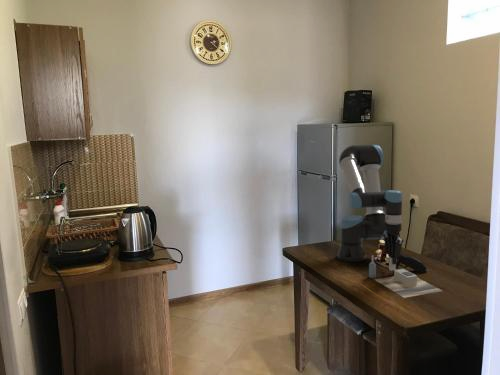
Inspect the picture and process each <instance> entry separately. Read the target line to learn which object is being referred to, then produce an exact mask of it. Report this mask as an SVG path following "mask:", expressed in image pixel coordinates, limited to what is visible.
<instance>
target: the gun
mask: <svg viewBox="0 0 500 375" xmlns="http://www.w3.org/2000/svg"><path fill="white" fill-rule="evenodd" d="M399 266H400V267H401V268H402V269H406V268H410V269H412V270H414V271H416V272H417V273H425V272H429V269H428V268H427V266H425V264H424V263H423V262H422V261H421V260H419V259H417V258H415V257H412V256H410V255H406V254H402V253H400V257H397V258H396V270H398V269H399Z"/></svg>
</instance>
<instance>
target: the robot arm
mask: <svg viewBox="0 0 500 375" xmlns="http://www.w3.org/2000/svg"><path fill="white" fill-rule="evenodd" d="M338 160H339V161H338V162H339V167H340V168H341V170H343V173H344V175H345V179H346V182H347V184H348V188H349V191H350V193H349V194H348V204H349V207H351V208H353V209H354V208H355V209H362V208H363V209H365V208H366V213H365V214H364V217H363V216H362V215H360V214H359V215H357V214H353V215H347V216H344V217H343V218H341V220H340V245H339V248H338V252H337V258H338V259H339V260H340V261H343V262H348V263H360V262H363V261H365V260H366V252H365V249H364V245H363V240H384V241H383V242H384V246H385V253H386V255H388V262H389V263H388V270H389V271H394V270H396V262H397V257H400V254H401V252H402V247H403V246H402V245H403V243H404V239H402V238H401V235H400V234H401V233H400V232H401V231H402V222H403V221H402V220H403V219H402V218H403V216H402V213H403V211H402V209H403V193H402V191H400V190H395V189H389V190H381V183H380V182H381V180H380V174H379V169H380V168H381V167H382V165H383V163H384V153H383V150H382V148H381V146H379V145H378V144H362V145H361V144H360V145H358V144H357V145H355V144H354V145H353V144H352V145H350V146H347V147H346V148H345V149H344V150H342V152H341V153H340V156H339V159H338ZM358 166H359V167H358ZM360 171H361V172H362V176H363V178H362V176H361V173H360ZM383 209H384V210H383Z"/></svg>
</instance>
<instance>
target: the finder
mask: <svg viewBox="0 0 500 375" xmlns="http://www.w3.org/2000/svg"><path fill="white" fill-rule="evenodd" d="M393 273H394V274H393V276H394V278H395V279H396V280H398V281H400V282H402V283H404V284H405V285H407V286H410V285H416V284H417V278H418V275H416V274H415V273H412V272H411V271H408V270H406V268H400V269H399V268H398V269H397V270H393Z"/></svg>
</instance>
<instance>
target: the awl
mask: <svg viewBox="0 0 500 375" xmlns="http://www.w3.org/2000/svg"><path fill="white" fill-rule="evenodd" d="M374 257H375V256H374V255H371V262H370V263H369V264H368V272H369V273H368V278H370V279H377V264H376V262H375V260H374Z"/></svg>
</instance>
